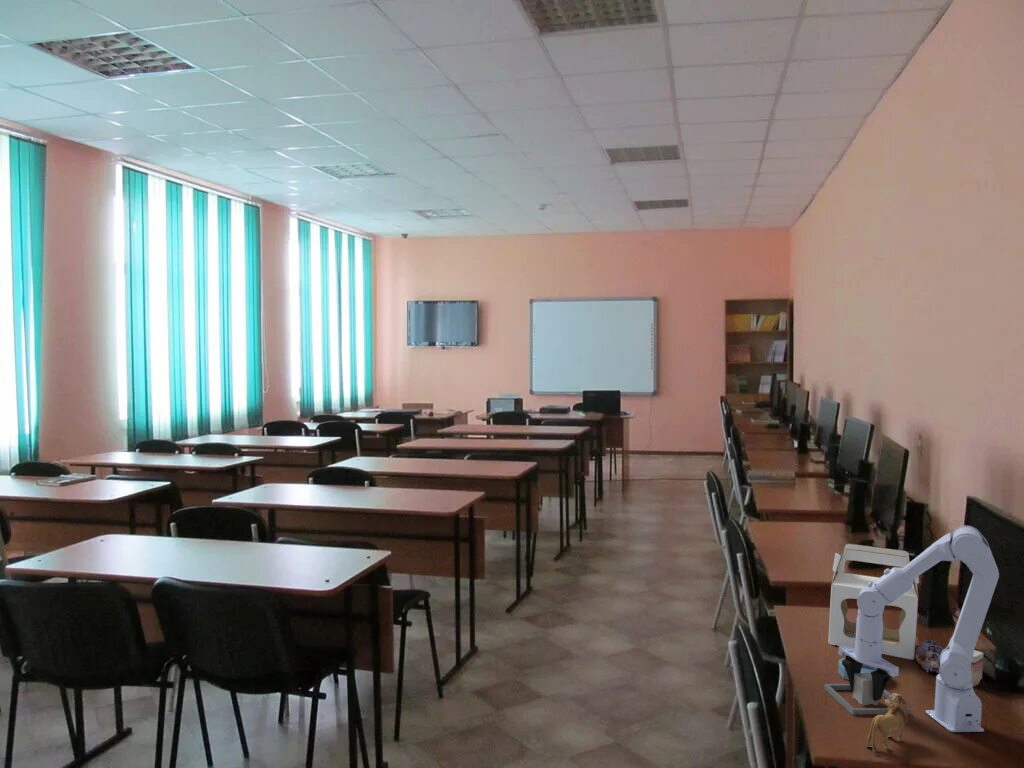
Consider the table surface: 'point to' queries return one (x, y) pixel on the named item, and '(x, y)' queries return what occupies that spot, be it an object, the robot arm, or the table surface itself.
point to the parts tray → (831, 690)
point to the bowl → (864, 669)
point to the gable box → (850, 587)
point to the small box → (977, 667)
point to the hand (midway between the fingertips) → (865, 694)
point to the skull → (929, 655)
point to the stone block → (863, 688)
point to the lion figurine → (889, 721)
